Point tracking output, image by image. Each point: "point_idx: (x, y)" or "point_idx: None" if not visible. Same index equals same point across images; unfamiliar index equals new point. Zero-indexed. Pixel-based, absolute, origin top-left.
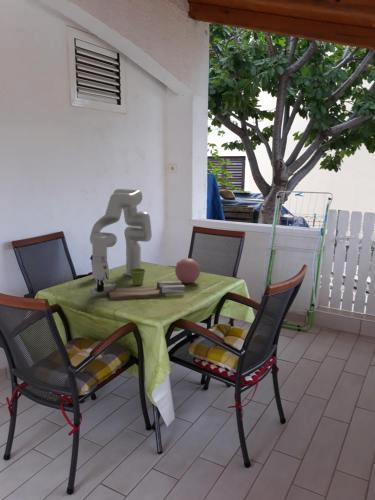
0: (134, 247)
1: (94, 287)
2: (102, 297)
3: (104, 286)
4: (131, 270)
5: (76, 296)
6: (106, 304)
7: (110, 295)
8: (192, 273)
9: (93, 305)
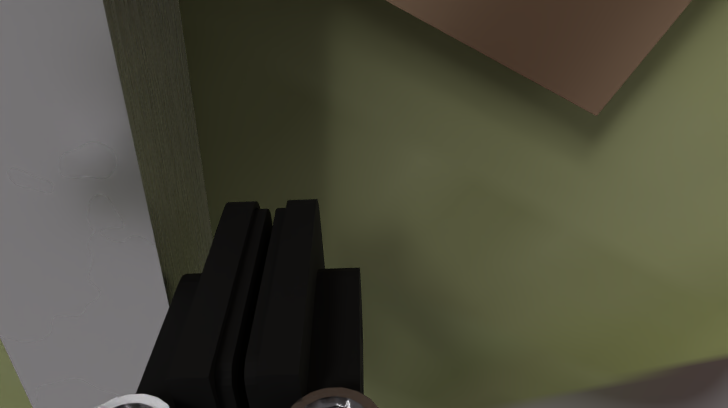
0: None
1: (71, 378)
2: (293, 121)
3: (91, 122)
4: None
5: (18, 403)
6: (692, 246)
7: (540, 66)
8: None
9: (551, 388)
